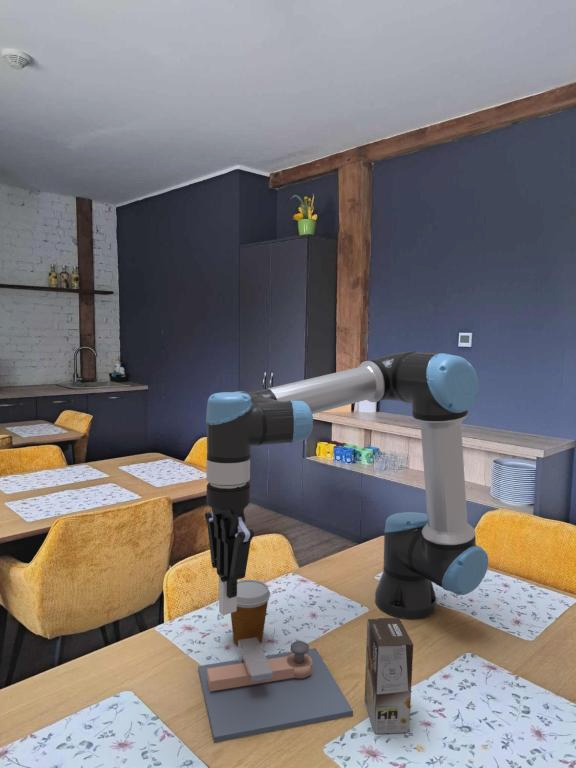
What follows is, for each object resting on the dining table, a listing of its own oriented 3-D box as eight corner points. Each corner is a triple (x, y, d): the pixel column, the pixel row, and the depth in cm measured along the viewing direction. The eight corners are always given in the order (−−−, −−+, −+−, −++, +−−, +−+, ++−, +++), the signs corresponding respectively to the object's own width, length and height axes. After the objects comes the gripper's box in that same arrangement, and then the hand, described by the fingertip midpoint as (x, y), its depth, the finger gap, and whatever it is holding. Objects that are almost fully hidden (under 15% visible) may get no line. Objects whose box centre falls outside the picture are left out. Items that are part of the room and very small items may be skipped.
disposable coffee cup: (263, 655, 117) (264, 601, 115) (220, 649, 118) (221, 596, 117) (273, 631, 126) (274, 581, 125) (233, 626, 128) (234, 576, 126)
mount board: (315, 652, 118) (315, 647, 118) (352, 715, 99) (353, 710, 99) (198, 670, 111) (198, 665, 111) (214, 742, 92) (214, 737, 92)
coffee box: (410, 733, 95) (415, 645, 94) (374, 734, 95) (378, 646, 93) (396, 697, 104) (399, 616, 103) (362, 698, 104) (365, 617, 102)
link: (307, 660, 113) (308, 637, 112) (315, 676, 108) (316, 651, 107) (206, 676, 107) (206, 652, 107) (210, 693, 102) (210, 668, 102)
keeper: (256, 662, 114) (257, 637, 113) (272, 700, 103) (272, 672, 102) (237, 665, 113) (238, 639, 112) (250, 704, 101) (251, 676, 101)
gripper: (267, 487, 93) (265, 621, 95) (228, 470, 103) (227, 591, 106) (229, 495, 88) (228, 635, 91) (191, 476, 99) (191, 602, 101)
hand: (227, 611), depth 98 cm, fingers closed
